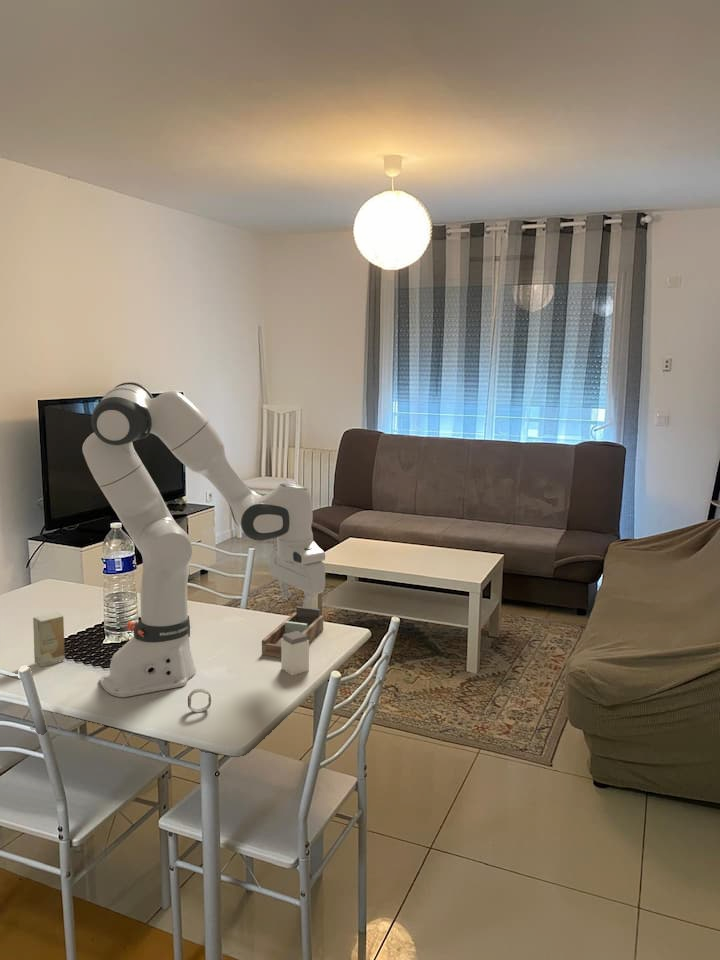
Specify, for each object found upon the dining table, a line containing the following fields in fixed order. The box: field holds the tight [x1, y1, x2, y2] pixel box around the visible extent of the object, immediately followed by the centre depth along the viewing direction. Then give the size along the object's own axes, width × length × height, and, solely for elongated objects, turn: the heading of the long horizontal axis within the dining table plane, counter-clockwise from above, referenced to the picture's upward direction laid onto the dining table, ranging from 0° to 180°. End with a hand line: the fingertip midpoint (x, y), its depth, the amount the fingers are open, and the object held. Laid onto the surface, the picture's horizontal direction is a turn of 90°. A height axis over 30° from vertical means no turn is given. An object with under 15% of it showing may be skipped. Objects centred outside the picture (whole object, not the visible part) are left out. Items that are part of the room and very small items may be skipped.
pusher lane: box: [261, 606, 324, 658], centre depth 199 cm, size 23×9×6 cm, turn 163°
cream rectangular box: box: [280, 631, 310, 676], centre depth 181 cm, size 5×5×9 cm
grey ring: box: [187, 688, 212, 714], centre depth 159 cm, size 3×5×5 cm, turn 108°
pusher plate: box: [285, 621, 307, 634], centre depth 201 cm, size 1×6×4 cm, turn 73°
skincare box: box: [32, 611, 66, 668], centre depth 183 cm, size 6×4×12 cm
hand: (296, 602), depth 179 cm, fingers open, 8 cm apart
